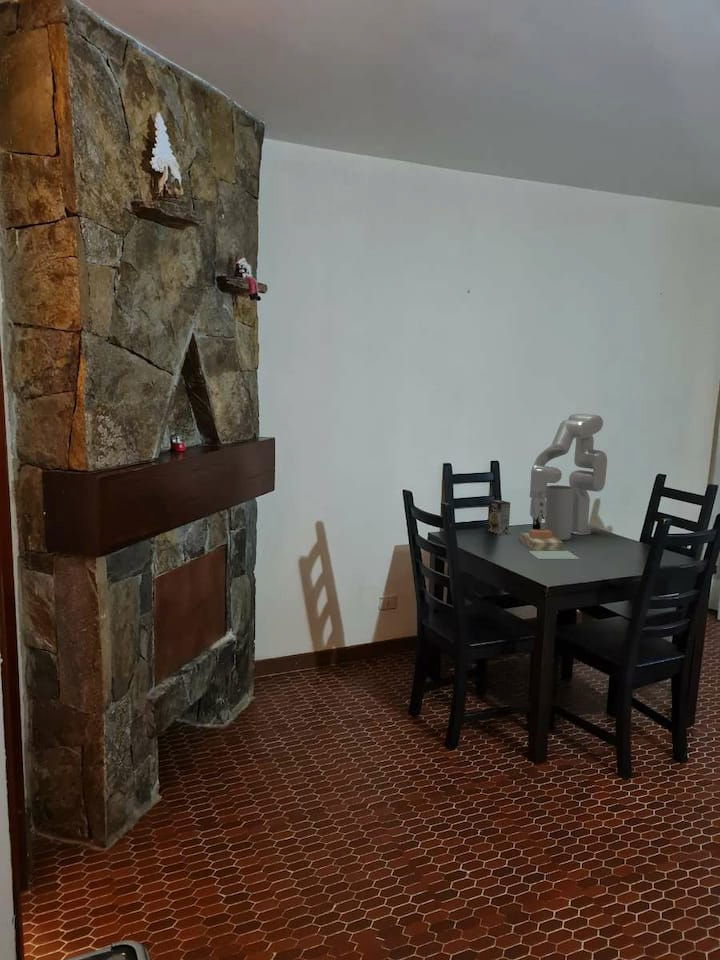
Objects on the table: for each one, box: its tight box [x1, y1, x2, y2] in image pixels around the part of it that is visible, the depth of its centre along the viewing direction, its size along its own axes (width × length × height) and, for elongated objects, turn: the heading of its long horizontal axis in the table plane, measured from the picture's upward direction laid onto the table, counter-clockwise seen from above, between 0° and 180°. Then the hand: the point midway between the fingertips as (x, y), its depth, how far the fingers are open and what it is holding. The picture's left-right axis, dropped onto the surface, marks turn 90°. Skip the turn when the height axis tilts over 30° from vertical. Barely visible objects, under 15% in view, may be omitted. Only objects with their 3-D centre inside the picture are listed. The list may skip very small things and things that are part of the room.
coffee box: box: [487, 499, 511, 535], centre depth 350 cm, size 9×6×16 cm
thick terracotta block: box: [528, 528, 552, 539], centre depth 323 cm, size 9×6×3 cm, turn 94°
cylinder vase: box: [543, 484, 574, 541], centre depth 339 cm, size 12×12×25 cm
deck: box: [519, 532, 564, 551], centre depth 323 cm, size 14×20×4 cm
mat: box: [528, 550, 580, 560], centre depth 306 cm, size 18×14×1 cm
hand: (536, 532), depth 329 cm, fingers closed
